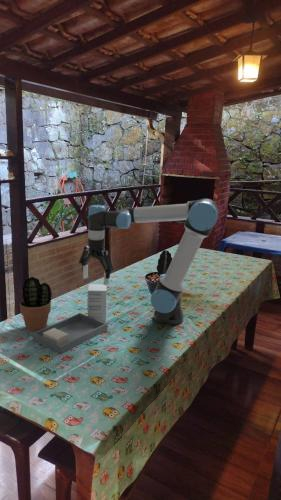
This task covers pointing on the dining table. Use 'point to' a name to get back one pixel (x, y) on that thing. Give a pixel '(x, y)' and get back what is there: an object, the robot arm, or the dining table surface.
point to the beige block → (56, 336)
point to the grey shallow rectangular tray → (72, 332)
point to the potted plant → (35, 304)
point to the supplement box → (97, 301)
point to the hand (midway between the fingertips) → (95, 281)
